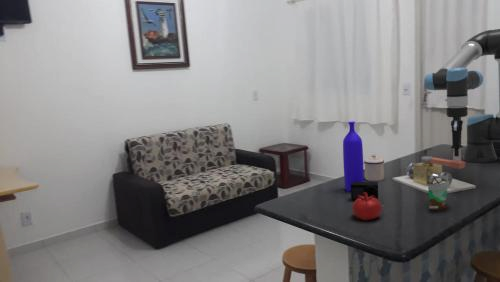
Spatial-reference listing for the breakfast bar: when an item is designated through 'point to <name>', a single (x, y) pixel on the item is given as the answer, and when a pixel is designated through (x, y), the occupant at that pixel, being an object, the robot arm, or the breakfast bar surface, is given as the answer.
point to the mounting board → (409, 181)
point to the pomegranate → (366, 207)
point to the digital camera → (364, 189)
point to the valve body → (426, 172)
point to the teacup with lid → (374, 168)
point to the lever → (443, 162)
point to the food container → (438, 193)
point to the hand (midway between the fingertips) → (456, 163)
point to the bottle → (352, 158)
